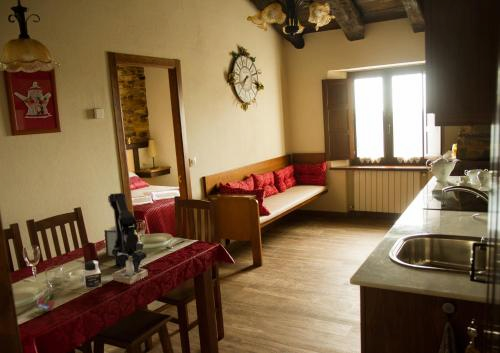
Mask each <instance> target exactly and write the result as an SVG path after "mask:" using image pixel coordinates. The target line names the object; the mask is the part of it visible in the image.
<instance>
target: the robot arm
mask: <svg viewBox="0 0 500 353" xmlns="http://www.w3.org/2000/svg"><path fill="white" fill-rule="evenodd" d="M107 200H108V203H109V206H110V208H111V209H112V211H113V215H114V217H113V218H114V226H115V227H116V239H115V241H114V246H113V250H112V255H114V256H113V257H114V259H115V265H114V267H115V268H116V267H117V268H118V267H119V268H122V269H124V268H126V260H132V262H133V266H134V269H135V272H137V271H138V268H140V264H141V262H142V261H143V260H145V259H146V258H147V253H146V251H143V250H144V245H145V244H144V243H140V242H139V236H138V235H137V233H136V234H135V233H134V230H136V231H137V230H138V227H139V226H138V222H137V219H136V217H135V216H134V214H133V212H132V211H129V208H128V205H127V197H126V193H123V192H117V193H110V194H109V195H108V196H107ZM130 226H135V227H130ZM130 257H131V259H130Z"/></svg>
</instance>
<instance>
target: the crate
mask: <svg viewBox="0 0 500 353" xmlns="http://www.w3.org/2000/svg"><path fill="white" fill-rule="evenodd" d="M148 272H149V271H148V269H146V268H140V267H139V268H138V271H137V272H135V269H134V276H132V277H127V273H126V267H125V268H122V269H120V270H117V271H115V272H113V273H112V280H113V281H116V282H118V283H119V282H120V283H122V282H123V284H126V283H127V285H129V284H130V285H132V283H133V284H135V283H136V281H137V282H138V280H139V281H141V280H143V279H145V278H147V277H148V276H149V275H148ZM146 276H147V277H146ZM144 277H145V278H144ZM142 278H143V279H142ZM140 279H141V280H140ZM134 282H135V283H134Z"/></svg>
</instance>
